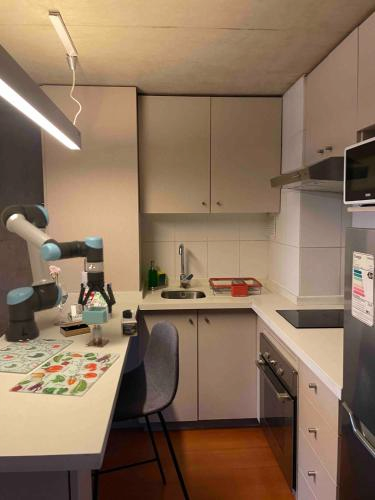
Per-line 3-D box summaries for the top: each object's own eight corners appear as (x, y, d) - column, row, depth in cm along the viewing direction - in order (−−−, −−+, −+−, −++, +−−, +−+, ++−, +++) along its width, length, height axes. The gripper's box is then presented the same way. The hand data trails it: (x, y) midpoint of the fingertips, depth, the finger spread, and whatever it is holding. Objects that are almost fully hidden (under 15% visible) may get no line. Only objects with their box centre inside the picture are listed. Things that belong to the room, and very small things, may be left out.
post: (85, 346, 167) (85, 327, 166) (93, 340, 174) (92, 322, 174) (102, 347, 165) (101, 328, 164) (109, 341, 173) (108, 323, 172)
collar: (82, 322, 164) (81, 311, 164) (91, 316, 174) (91, 306, 174) (103, 323, 163) (103, 312, 162) (111, 317, 172) (111, 306, 172)
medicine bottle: (122, 337, 178) (121, 312, 177) (121, 332, 185) (120, 309, 184) (137, 335, 180) (136, 311, 179) (135, 331, 187) (134, 308, 186)
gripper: (68, 272, 165) (70, 321, 167) (116, 272, 161) (118, 322, 163) (75, 269, 172) (78, 316, 174) (122, 270, 168) (123, 318, 170)
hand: (97, 319), depth 168 cm, fingers closed on collar, 10 cm apart
